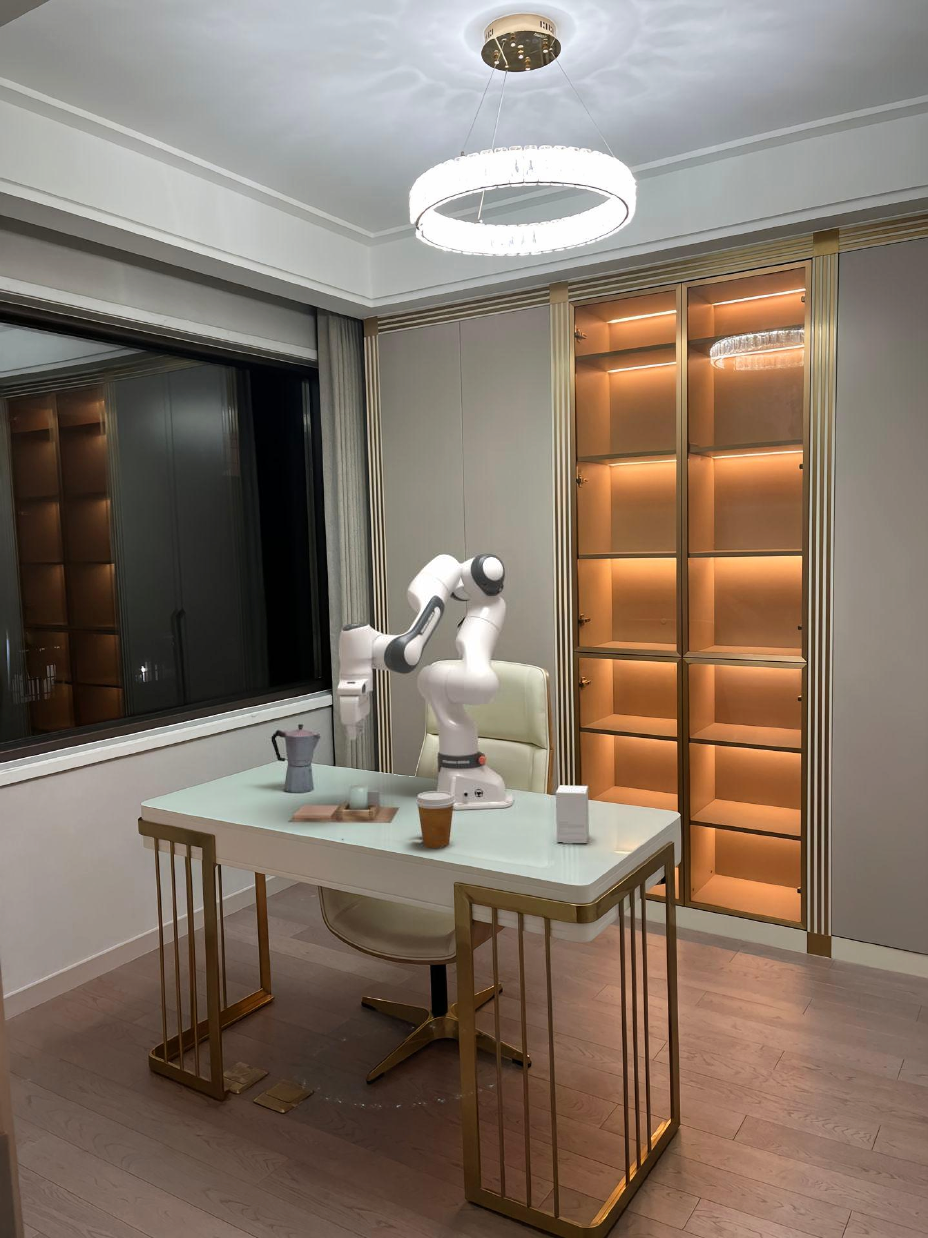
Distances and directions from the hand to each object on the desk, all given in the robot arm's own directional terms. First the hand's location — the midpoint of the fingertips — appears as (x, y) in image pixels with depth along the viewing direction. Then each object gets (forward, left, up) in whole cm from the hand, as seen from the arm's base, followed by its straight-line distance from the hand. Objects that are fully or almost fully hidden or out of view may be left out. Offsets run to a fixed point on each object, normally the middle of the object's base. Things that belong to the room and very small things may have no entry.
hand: (356, 736), depth 249 cm
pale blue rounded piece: (-2, 0, -21) cm, 21 cm away
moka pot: (+25, -31, -22) cm, 45 cm away
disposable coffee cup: (-23, +21, -22) cm, 39 cm away
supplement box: (-56, +16, -23) cm, 63 cm away
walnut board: (+4, -1, -22) cm, 22 cm away
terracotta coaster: (+12, -2, -21) cm, 24 cm away
